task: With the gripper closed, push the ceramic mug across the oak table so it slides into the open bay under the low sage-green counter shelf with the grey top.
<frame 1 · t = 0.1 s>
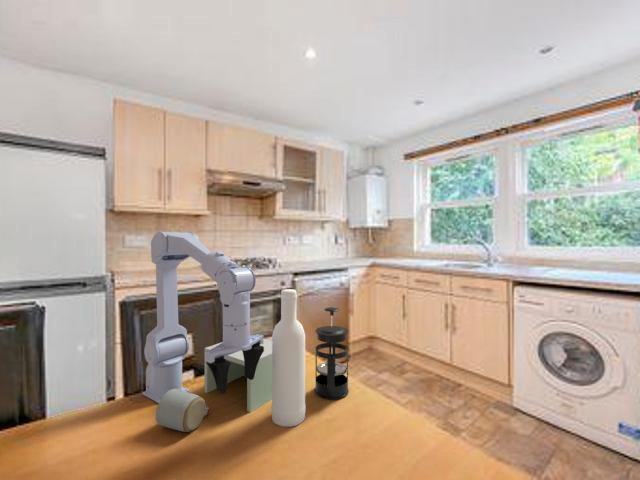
hand: (236, 384, 68), 10 cm above the table, tool pointing down, fingers open, 7 cm apart
bottle: (288, 418, 73), on the table
french press: (331, 392, 85), on the table
ceramic mug: (185, 424, 71), on the table
counter shelf: (247, 389, 86), on the table
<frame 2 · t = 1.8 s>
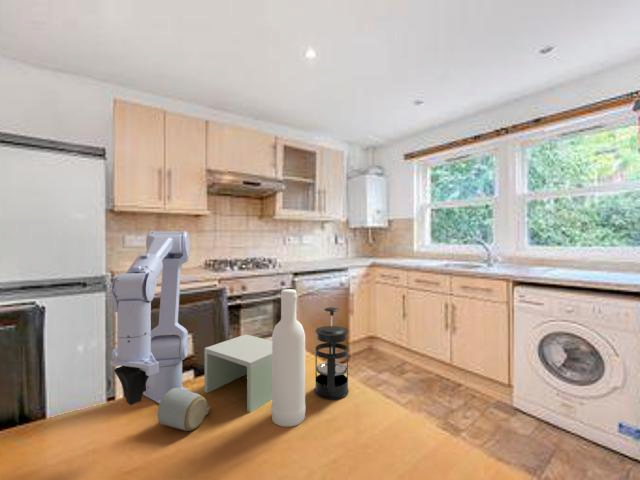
hand: (134, 402, 61), 10 cm above the table, tool pointing down, fingers closed
nothing on the table moved.
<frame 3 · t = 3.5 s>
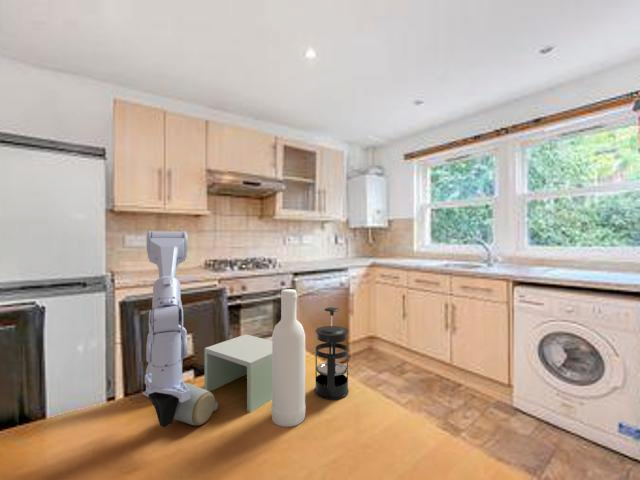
hand: (166, 424, 67), 2 cm above the table, tool pointing down, fingers closed
ceramic mug: (195, 418, 73), on the table, touching gripper
everything else where it was.
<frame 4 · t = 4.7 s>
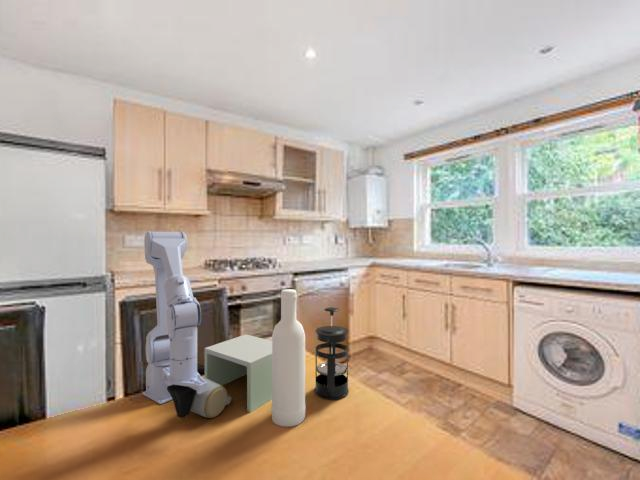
hand: (183, 415, 70), 2 cm above the table, tool pointing down, fingers closed
ceramic mug: (209, 410, 76), on the table, touching gripper
everything else where it was.
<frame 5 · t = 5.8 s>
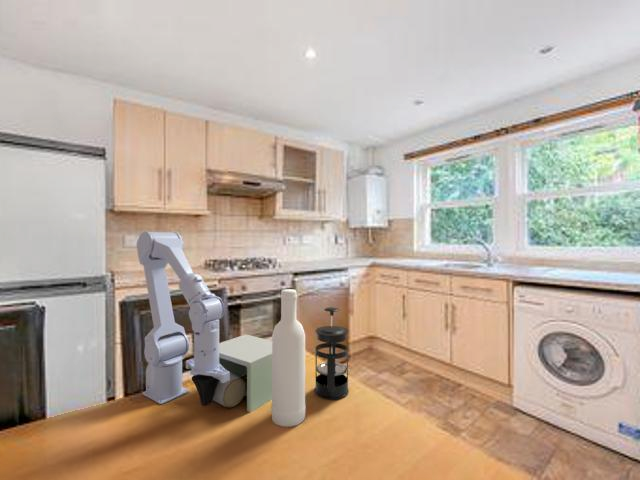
hand: (206, 403, 75), 2 cm above the table, tool pointing down, fingers closed, pressing on ceramic mug
ceramic mug: (230, 400, 81), on the table, touching gripper
everything else where it was.
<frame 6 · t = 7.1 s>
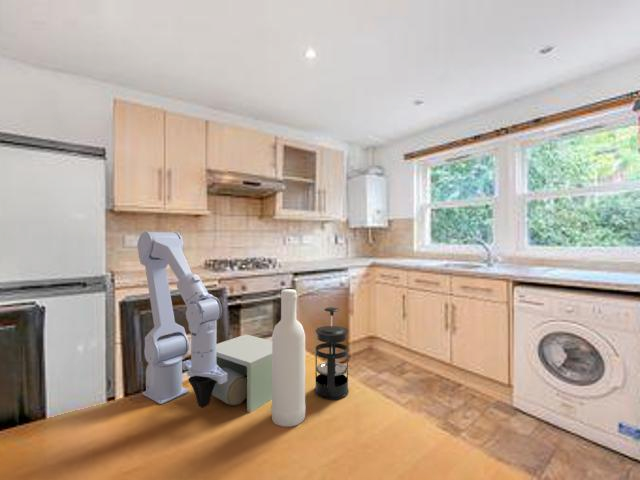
hand: (203, 405, 75), 2 cm above the table, tool pointing down, fingers closed
ceramic mug: (234, 399, 82), on the table
everything else where it was.
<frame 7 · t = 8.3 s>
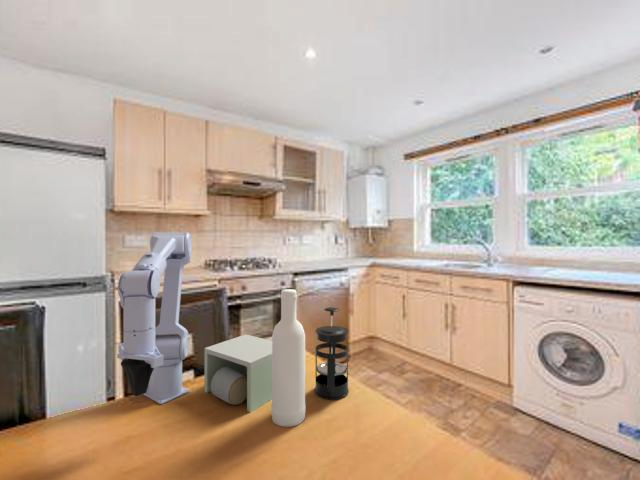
hand: (139, 393, 64), 10 cm above the table, tool pointing down, fingers closed
nothing on the table moved.
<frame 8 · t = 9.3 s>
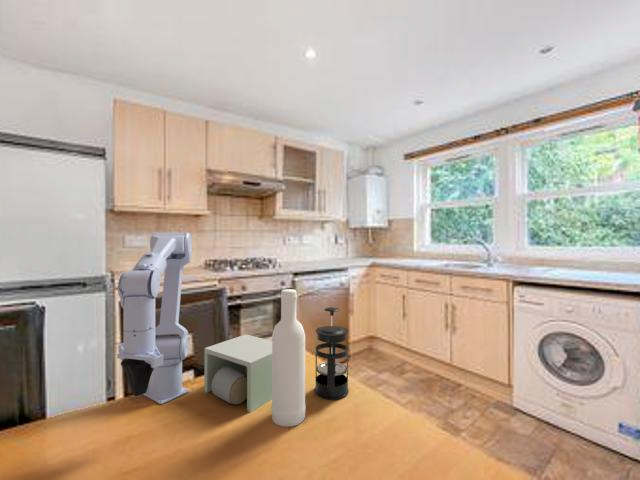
hand: (139, 393, 64), 10 cm above the table, tool pointing down, fingers closed
nothing on the table moved.
at the end: ceramic mug inside the target area (4.3 cm from its centre), on the table; ceramic mug tilted 0°; ceramic mug moved 14.5 cm from its start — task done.
